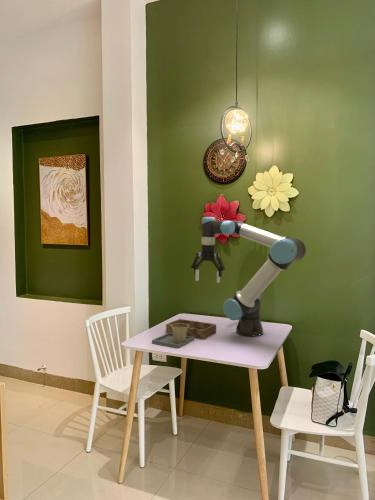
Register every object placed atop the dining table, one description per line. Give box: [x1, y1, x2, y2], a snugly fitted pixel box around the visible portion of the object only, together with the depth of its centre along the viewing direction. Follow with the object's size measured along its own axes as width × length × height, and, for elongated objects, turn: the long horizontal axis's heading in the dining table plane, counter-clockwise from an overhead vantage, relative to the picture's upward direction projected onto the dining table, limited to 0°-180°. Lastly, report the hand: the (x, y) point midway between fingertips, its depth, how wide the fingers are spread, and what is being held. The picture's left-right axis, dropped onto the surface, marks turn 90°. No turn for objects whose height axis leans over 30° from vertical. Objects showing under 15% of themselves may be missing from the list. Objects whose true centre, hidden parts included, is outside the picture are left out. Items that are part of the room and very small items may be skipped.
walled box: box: [165, 318, 217, 341], centre depth 218 cm, size 24×15×5 cm, turn 60°
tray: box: [151, 333, 195, 349], centre depth 202 cm, size 16×16×2 cm
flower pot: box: [171, 323, 189, 343], centre depth 200 cm, size 9×9×9 cm
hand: (207, 281), depth 221 cm, fingers open, 13 cm apart
